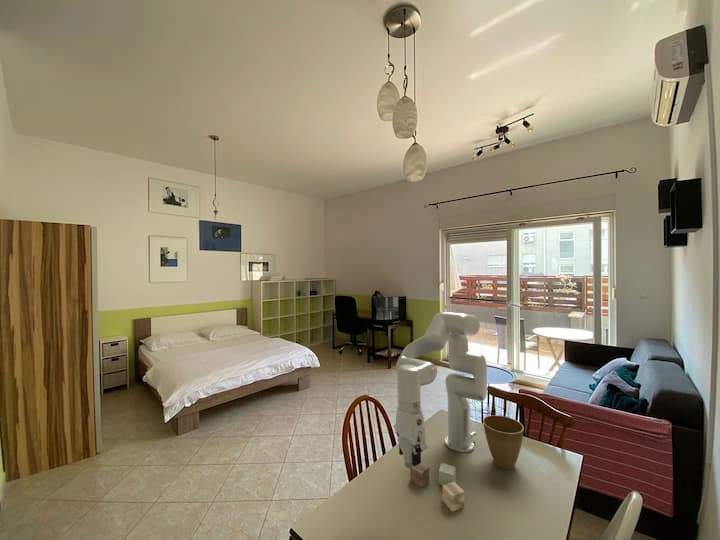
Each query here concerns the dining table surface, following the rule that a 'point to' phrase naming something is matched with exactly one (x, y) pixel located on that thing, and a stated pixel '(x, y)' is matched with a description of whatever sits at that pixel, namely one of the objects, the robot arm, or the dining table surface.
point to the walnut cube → (419, 474)
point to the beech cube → (453, 496)
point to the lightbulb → (407, 451)
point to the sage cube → (447, 474)
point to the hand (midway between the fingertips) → (409, 458)
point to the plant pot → (503, 439)
